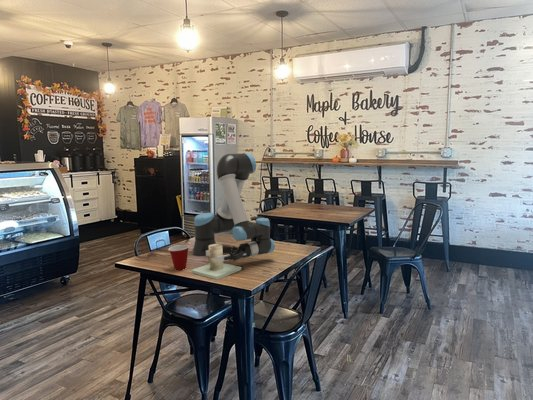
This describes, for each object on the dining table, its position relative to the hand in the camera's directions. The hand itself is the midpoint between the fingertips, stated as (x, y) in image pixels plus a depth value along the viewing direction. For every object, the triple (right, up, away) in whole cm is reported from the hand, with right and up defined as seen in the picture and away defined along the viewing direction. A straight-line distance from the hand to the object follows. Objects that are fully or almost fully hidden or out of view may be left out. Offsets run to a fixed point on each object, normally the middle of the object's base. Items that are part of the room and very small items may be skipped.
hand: (211, 256), depth 201 cm
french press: (+22, 0, +59) cm, 63 cm away
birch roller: (+2, -6, +2) cm, 7 cm away
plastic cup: (-18, -8, +8) cm, 21 cm away
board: (+2, -8, +2) cm, 9 cm away
